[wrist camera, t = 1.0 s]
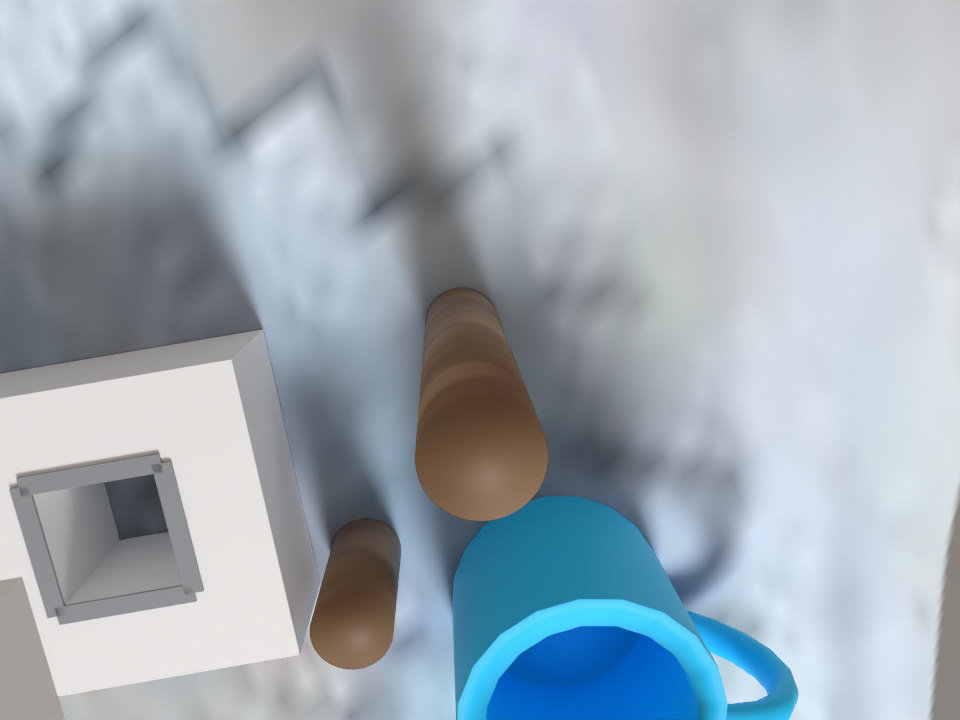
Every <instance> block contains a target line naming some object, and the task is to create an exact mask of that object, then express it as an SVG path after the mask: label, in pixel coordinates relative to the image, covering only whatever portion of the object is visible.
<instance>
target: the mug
mask: <svg viewBox="0 0 960 720" xmlns="http://www.w3.org/2000/svg"><path fill="white" fill-rule="evenodd" d="M453 637H454V667H455V698H456V720H789V718H790V716H791V713H792V711H793V709H794V707H795V704H796V702H797V700H798V689H797V686H796V684H795V681H794V678H793V676H792V673H791V671H790V669H789V668H788V667H787V666H786V665H785V664H784V663H783V662H782V661H781V660H780V659H779V658H778V657H777V656H776V654H775V653H774V652H773V651H771V650H770V649H769V648H767V647H766V646H764V645H763V644H761V643H760V642H758V641H756V640H755V639H753V638H752V637H750V636H749V635H747V634H745V633H743V632H741V631H739V630H737V629H734V628H732V627H730V626H728V625H726V624H723V623H721V622H719V621H717V620H714V619H711V618H708V617H705V616H702V615H699V614H696V613H693V612H690V611H687V610H686V609H685V607H684V605H683V603H682V602H681V600H680V598H679V596H678V594H677V593H676V591H675V589H674V587H673V585H672V583H671V582H670V580H669V578H668V576H667V574H666V573H665V571H664V569H663V567H662V565H661V564H660V562H659V560H658V558H657V556H656V555H655V553H654V551H653V550H652V548H651V547H650V545H649V544H648V542H647V541H646V539H645V538H644V536H643V535H642V534H641V532H640V531H639V529H638V528H637V526H636V525H634V524H633V523H632V522H630V521H629V520H628V519H626V518H625V517H624V516H622V515H621V514H620V513H618V512H617V511H615V510H614V509H613V508H611V507H609V506H606V505H603V504H600V503H597V502H594V501H591V500H588V499H585V498H582V497H568V496H545V497H541V498H538V499H534V500H531V501H529V502H528V503H527V504H526V505H524V506H523V507H522V508H520V509H519V510H518V511H516V512H514V513H512V514H510V515H508V516H505V517H503V518H499V519H495V520H490V521H489V522H487V523H486V524H485V525H484V526H483V527H482V528H481V530H480V531H479V532H478V533H477V535H476V536H475V537H474V538H473V540H472V541H471V542H470V543H469V544H468V546H467V547H466V548H465V549H464V552H463V555H462V557H461V560H460V563H459V565H458V568H457V570H456V573H455V576H454V578H453ZM710 652H711V653H714V654H716V655H718V656H720V657H722V658H724V659H726V660H728V661H730V662H732V663H734V664H736V665H737V666H739V667H740V668H741V669H743V670H744V671H746V672H747V673H749V674H750V675H752V676H753V677H755V678H756V680H757V681H758V682H759V683H760V684H761V685H762V686H763V687H764V688H765V689H766V691H767V694H768V696H766V697H764V698H762V699H760V700H757V701H753V702H744V703H736V704H727V700H726V696H725V692H724V688H723V684H722V680H721V676H720V673H719V669H718V666H717V665H716V663H715V661H714V659H713V657H712V656H711V654H710Z"/></svg>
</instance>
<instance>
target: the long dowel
mask: <svg viewBox="0 0 960 720" xmlns="http://www.w3.org/2000/svg"><path fill="white" fill-rule="evenodd" d="M415 464H416V471H417V475H418V478H419V481H420V483H421V486H422V487H423V489H424V491H425V492H426V494H427V495H428V496H429V498H430V499H431V500H432V501H433V502H434V503H435V504H436V505H437V506H439V507H440V508H441V509H443V510H444V511H446V512H448V513H449V514H451V515H454V516H456V517H459V518H462V519H466V520H472V521H489V520H495V519H499V518H503V517H505V516H508V515H510V514H512V513H514V512H516V511H518V510H519V509H520V508H522V507H523V506H524V505H526V504H527V503H528V502H529V501H530V500H531V499H532V498H533V497H534V495H535V494H536V493H537V491H538V490H539V488H540V486H541V484H542V482H543V480H544V477H545V474H546V471H547V466H548V447H547V443H546V439H545V436H544V433H543V431H542V428H541V426H540V423H539V420H538V418H537V415H536V413H535V410H534V408H533V405H532V403H531V400H530V397H529V395H528V392H527V390H526V387H525V385H524V382H523V379H522V377H521V374H520V372H519V369H518V367H517V364H516V361H515V359H514V356H513V354H512V351H511V349H510V346H509V344H508V341H507V338H506V336H505V333H504V331H503V328H502V326H501V323H500V320H499V318H498V315H497V313H496V310H495V308H494V306H493V304H492V303H491V301H490V300H489V299H488V298H487V297H486V296H485V295H483V294H482V293H480V292H478V291H476V290H473V289H470V288H454V289H450V290H448V291H446V292H444V293H442V294H441V295H439V296H438V297H437V298H436V299H435V300H434V301H433V303H432V304H431V306H430V307H429V310H428V312H427V316H426V324H425V337H424V349H423V362H422V375H421V388H420V401H419V413H418V426H417V439H416V452H415Z"/></svg>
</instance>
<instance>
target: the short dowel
mask: <svg viewBox="0 0 960 720" xmlns="http://www.w3.org/2000/svg"><path fill="white" fill-rule="evenodd" d="M400 558H401V545H400V541H399V539H398V537H397V535H396V533H395V532H394V531H393V530H392V529H391V528H390V527H389V526H388V525H386V524H385V523H383V522H381V521H378V520H374V519H359V520H355V521H352V522H350V523H348V524H347V525H345V526H344V527H343V528H342V529H341V530H340V531H339V532H338V533H337V535H336V537H335V539H334V541H333V545H332V549H331V552H330V556H329V559H328V563H327V567H326V570H325V574H324V577H323V581H322V585H321V588H320V592H319V595H318V599H317V603H316V606H315V610H314V613H313V617H312V621H311V624H310V638H311V642H312V645H313V647H314V649H315V650H316V652H317V653H318V654H319V656H320V657H321V658H322V659H324V660H325V661H326V662H328V663H329V664H331V665H333V666H336V667H339V668H343V669H361V668H365V667H368V666H370V665H372V664H374V663H376V662H377V661H379V660H380V659H381V658H382V657H383V656H384V655H385V654H386V652H387V651H388V649H389V647H390V645H391V643H392V639H393V632H394V621H395V611H396V600H397V590H398V579H399V569H400Z"/></svg>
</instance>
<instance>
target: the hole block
mask: <svg viewBox="0 0 960 720" xmlns="http://www.w3.org/2000/svg"><path fill="white" fill-rule="evenodd" d="M151 474H154V478H155V482H156V486H157V489H158V493H159V497H160V501H161V505H162V509H163V513H164V516H165V520H166V524H167V528H168V532H164V533H158V534H152V535H146V536H140V537H134V538H128V539H123V540H120V539H119V535H118V531H117V528H116V524H115V520H114V517H113V513H112V509H111V506H110V502H109V498H108V495H107V491H106V487H105V484H104V482H110V481H116V480H122V479H127V478H133V477H139V476H145V475H151ZM18 577H22V578H23V582H24V585H25V588H26V592H27V595H28V598H29V602H30V605H31V608H32V612H33V615H34V618H35V622H36V625H37V628H38V632H39V635H40V638H41V642H42V645H43V648H44V652H45V655H46V658H47V662H48V665H49V668H50V672H51V675H52V678H53V682H54V685H55V688H56V692H57V695H58V696H64V695H69V694H75V693H81V692H87V691H93V690H98V689H104V688H110V687H116V686H122V685H127V684H133V683H139V682H145V681H151V680H156V679H162V678H168V677H174V676H180V675H185V674H191V673H197V672H203V671H208V670H214V669H220V668H226V667H232V666H237V665H243V664H249V663H255V662H261V661H266V660H272V659H278V658H284V657H290V656H295V655H300V652H301V649H302V645H303V642H304V638H305V635H306V631H307V627H308V624H309V620H310V617H311V613H312V610H313V606H314V602H315V599H316V595H317V592H318V588H319V585H320V583H319V579H318V574H317V570H316V565H315V561H314V556H313V552H312V547H311V543H310V538H309V534H308V529H307V525H306V520H305V515H304V511H303V506H302V502H301V497H300V493H299V488H298V484H297V479H296V475H295V470H294V466H293V461H292V457H291V452H290V448H289V443H288V439H287V434H286V430H285V425H284V421H283V416H282V412H281V407H280V403H279V398H278V394H277V389H276V385H275V380H274V376H273V371H272V366H271V362H270V357H269V353H268V348H267V344H266V339H265V335H264V330H263V329H262V330H256V331H250V332H244V333H238V334H232V335H226V336H220V337H214V338H208V339H202V340H196V341H191V342H185V343H179V344H173V345H167V346H161V347H155V348H149V349H143V350H137V351H131V352H125V353H120V354H114V355H108V356H102V357H96V358H90V359H84V360H78V361H72V362H66V363H60V364H54V365H49V366H43V367H37V368H31V369H25V370H19V371H13V372H7V373H1V374H0V580H6V579H12V578H18Z"/></svg>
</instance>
